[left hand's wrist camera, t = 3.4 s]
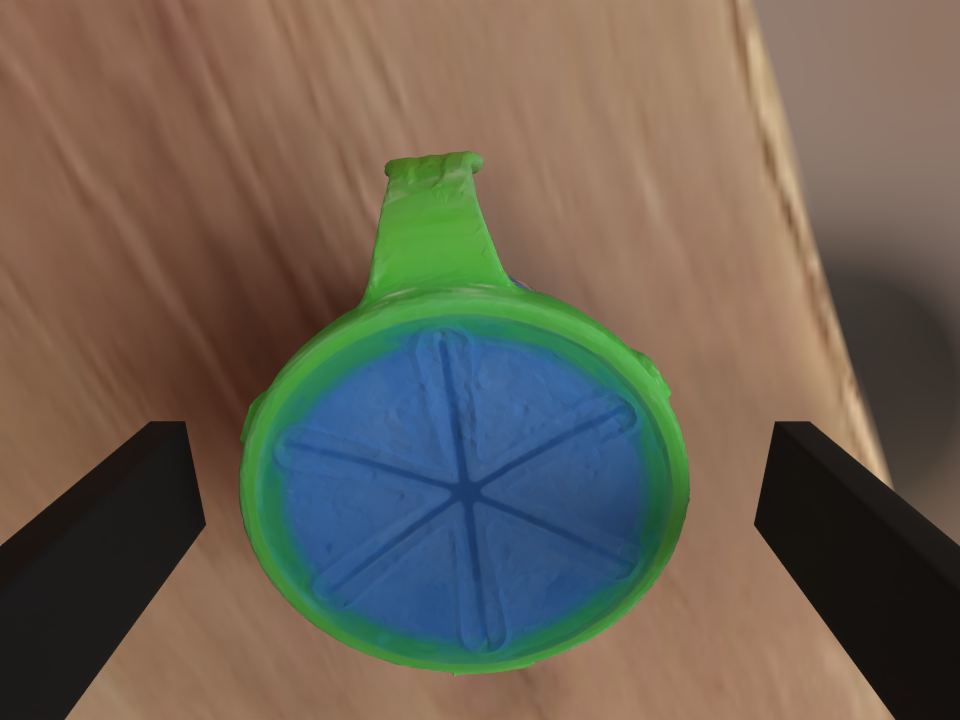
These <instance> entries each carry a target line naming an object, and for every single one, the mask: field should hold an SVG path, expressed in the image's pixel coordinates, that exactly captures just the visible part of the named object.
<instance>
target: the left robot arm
mask: <svg viewBox="0 0 960 720" xmlns="http://www.w3.org/2000/svg"><path fill="white" fill-rule="evenodd" d="M205 526H206V522H205V517H204V512H203V507H202V502H201V497H200V493H199V488H198V483H197V478H196V473H195V468H194V463H193V458H192V454H191V449H190V444H189V439H188V434H187V429H186V424H185V421H150V422H149V423H148V424H147V425H146V426H144V427H143V428H142V429H141V430H140V431H138V432H137V433H136V434H135V435H134V436H132V437H131V438H130V439H129V440H128V441H126V442H125V443H124V444H123V445H122V446H120V447H119V448H118V449H117V450H116V451H114V452H113V453H112V454H111V455H110V456H108V457H107V458H106V459H105V460H103V461H102V462H101V463H100V464H99V465H97V466H96V467H95V468H94V469H93V470H91V471H90V472H89V473H88V474H87V475H85V476H84V477H83V478H82V479H81V480H79V481H78V482H77V483H76V484H75V485H73V486H72V487H71V488H70V489H69V490H67V491H66V492H65V493H64V494H63V495H61V496H60V497H59V498H58V499H57V500H55V501H54V502H53V503H52V504H51V505H49V506H48V507H47V508H46V509H45V510H43V511H42V512H41V513H40V514H38V515H37V516H36V517H35V518H34V519H32V520H31V521H30V522H29V523H28V524H26V525H25V526H24V527H23V528H22V529H20V530H19V531H18V532H17V533H16V534H14V535H13V536H12V537H11V538H10V539H8V540H7V541H6V542H5V543H4V544H2V545H1V546H0V720H65V718H66V717H67V716H68V714H69V713H70V711H71V710H72V709H73V707H74V706H75V705H76V703H77V702H78V700H79V699H80V698H81V696H82V695H83V694H84V692H85V691H86V689H87V688H88V687H89V685H90V684H91V682H92V681H93V680H94V678H95V677H96V676H97V674H98V673H99V671H100V670H101V669H102V667H103V666H104V665H105V663H106V662H107V660H108V659H109V658H110V656H111V655H112V654H113V652H114V651H115V649H116V648H117V647H118V645H119V644H120V643H121V641H122V640H123V638H124V637H125V636H126V634H127V633H128V632H129V630H130V629H131V627H132V626H133V625H134V623H135V622H136V621H137V619H138V618H139V616H140V615H141V614H142V612H143V611H144V610H145V608H146V607H147V605H148V604H149V603H150V601H151V600H152V599H153V597H154V596H155V594H156V593H157V592H158V590H159V589H160V588H161V586H162V585H163V583H164V582H165V581H166V579H167V578H168V577H169V575H170V574H171V572H172V571H173V570H174V568H175V567H176V565H177V564H178V563H179V561H180V560H181V559H182V557H183V556H184V554H185V553H186V552H187V550H188V549H189V548H190V546H191V545H192V543H193V542H194V541H195V539H196V538H197V537H198V535H199V534H200V532H201V531H202V530H203V528H204V527H205ZM754 526H755V527H756V528H757V530H758V531H759V532H760V534H761V535H762V537H763V538H764V539H765V541H766V542H767V543H768V545H769V546H770V548H771V549H772V550H773V552H774V553H775V554H776V556H777V557H778V559H779V560H780V561H781V563H782V564H783V565H784V567H785V568H786V570H787V571H788V572H789V574H790V575H791V577H792V578H793V579H794V581H795V582H796V583H797V585H798V586H799V588H800V589H801V590H802V592H803V593H804V594H805V596H806V597H807V599H808V600H809V601H810V603H811V604H812V605H813V607H814V608H815V610H816V611H817V612H818V614H819V615H820V616H821V618H822V619H823V621H824V622H825V623H826V625H827V626H828V627H829V629H830V630H831V632H832V633H833V634H834V636H835V637H836V638H837V640H838V641H839V643H840V644H841V645H842V647H843V648H844V649H845V651H846V652H847V654H848V655H849V656H850V658H851V659H852V660H853V662H854V663H855V665H856V666H857V667H858V669H859V670H860V671H861V673H862V674H863V676H864V677H865V678H866V680H867V681H868V682H869V684H870V685H871V687H872V688H873V689H874V691H875V692H876V694H877V695H878V696H879V698H880V699H881V700H882V702H883V703H884V705H885V706H886V707H887V709H888V710H889V711H890V713H891V714H892V716H893V717H894V718H895V720H960V546H959V545H958V544H956V543H955V542H954V541H953V540H952V539H950V538H949V537H948V536H947V535H946V534H944V533H943V532H942V531H941V530H940V529H938V528H937V527H936V526H935V525H933V524H932V523H931V522H930V521H929V520H928V519H926V518H925V517H924V516H923V515H922V514H920V513H919V512H918V511H917V510H915V509H914V508H913V507H912V506H911V505H909V504H908V503H907V502H906V501H905V500H903V499H902V498H901V497H900V496H899V495H897V494H896V493H895V492H894V491H893V490H891V489H890V488H889V487H888V486H887V485H885V484H884V483H883V482H882V481H881V480H879V479H878V478H877V477H876V476H875V475H873V474H872V473H871V472H870V471H869V470H867V469H866V468H865V467H864V466H863V465H861V464H860V463H859V462H858V461H857V460H855V459H854V458H853V457H852V456H850V455H849V454H848V453H847V452H846V451H844V450H843V449H842V448H841V447H840V446H838V445H837V444H836V443H835V442H834V441H832V440H831V439H830V438H829V437H828V436H826V435H825V434H824V433H823V432H822V431H820V430H819V429H818V428H817V427H816V426H814V425H813V424H812V423H811V422H810V421H775V424H774V429H773V434H772V439H771V444H770V449H769V454H768V458H767V463H766V468H765V473H764V478H763V483H762V488H761V493H760V497H759V502H758V507H757V512H756V517H755V522H754Z"/></svg>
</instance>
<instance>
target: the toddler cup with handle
mask: <svg viewBox="0 0 960 720" xmlns="http://www.w3.org/2000/svg"><path fill="white" fill-rule="evenodd" d="M482 166H483V159H482V157H481V156H480V155H479V154H477V153H474V152H470V151H466V152H456V153H448V154H444V155H428V156H424V157H420V158H403V159H396V160H390V161H389V162H388V163H387V164H386V165H385V174H386V176H388V177H389V182H388V186H387V191H386V194H385V197H384V201H383V206H382V209H381V215H380V220H379V225H378V230H377V236H376V240H375V245H374V251H373V256H372V262H371V268H370V273H369V279H368V284H367V287H366V290H365V293H364V297H363V298H362V300H361V301H360V303H359V304H358V305H357V307H356V308H354V309H352V310H350V311H348V312H347V313H345V314H343V315H342V316H340V317H339V318H337V319H336V320H334V321H333V322H332V323H330V324H329V325H328V326H326V327H325V328H324V329H323V330H321V331H320V332H319V333H317V334H316V335H315V336H314V337H313V338H312V339H310V340H309V341H308V342H307V343H306V344H304V345H303V346H302V347H301V348H300V349H299V350H298V351H297V352H296V353H295V354H294V355H293V357H292V358H291V359H290V360H289V361H288V362H287V363H286V364H285V365H284V367H283V368H282V369H281V370H280V371H279V372H278V374H277V376H276V378H275V379H274V381H273V382H272V384H271V386H270V387H269V388H268V390H266V391H264V392H262V393H261V394H260V395H259V396H258V397H257V398H256V399H255V400H254V401H253V403H252V404H251V405H250V406H249V410H248V414H247V417H246V419H245V422H244V426H243V429H242V434H241V436H240V441H241V442H242V443H243V452H242V457H241V463H240V468H239V501H240V509H241V514H242V517H243V523H244V528H245V531H246V533H247V536H248V538H249V541H250V543H251V546H252V548H253V551H254V553H255V555H256V557H257V559H258V561H259V563H260V565H261V567H262V568H263V570H264V572H265V573H266V574H267V576H268V577H269V579H270V580H271V581H272V583H273V584H274V586H275V587H276V588H277V589H278V591H279V592H280V593H281V594H282V595H283V597H284V598H285V599H286V600H287V601H288V602H289V603H290V604H291V605H292V606H293V607H294V608H295V609H296V610H297V611H298V612H299V613H300V614H301V615H303V616H304V617H305V618H306V619H307V620H308V621H310V622H311V623H312V624H314V625H315V626H317V627H318V628H320V629H321V630H323V631H324V632H326V633H327V634H329V635H330V636H332V637H333V638H335V639H337V640H339V641H341V642H342V643H344V644H346V645H347V646H349V647H351V648H354V649H356V650H358V651H361V652H363V653H366V654H368V655H371V656H374V657H376V658H379V659H382V660H385V661H388V662H391V663H394V664H397V665H403V666H408V667H413V668H418V669H426V670H431V671H443V672H451V673H453V676H455V675H458V674H480V673H492V672H502V671H509V670H514V669H521V668H527V667H529V666H532V665H533V664H534V662H537V661H540V660H543V659H546V658H550V657H552V656H555V655H558V654H561V653H564V652H566V651H569V650H571V649H572V648H574V647H576V646H578V645H580V644H582V643H584V642H586V641H588V640H590V639H592V638H593V637H595V636H597V635H598V634H600V633H601V632H603V631H605V630H606V629H608V628H609V627H610V626H612V625H613V624H615V623H616V622H617V621H618V620H619V619H621V618H622V617H623V616H624V615H626V614H627V613H628V612H629V611H630V610H631V609H632V608H633V607H634V606H635V605H636V604H637V603H638V602H639V601H640V600H641V598H642V597H643V596H644V595H645V594H646V592H647V591H648V590H649V589H650V588H651V587H652V586H653V584H654V583H655V581H656V580H657V578H658V577H659V576H660V574H661V572H662V570H663V569H664V567H665V566H666V565H667V563H668V561H669V559H670V557H671V556H672V554H673V552H674V549H675V546H676V544H677V542H678V540H679V536H680V533H681V530H682V526H683V523H684V520H685V517H686V511H687V507H688V502H689V500H690V499H689V491H690V485H689V467H688V458H687V454H686V449H685V444H684V440H683V437H682V433H681V430H680V427H679V424H678V422H677V419H676V416H675V414H674V412H673V410H672V408H671V406H670V404H669V396H670V394H671V391H670V388H669V386H668V385H667V383H666V382H665V380H664V378H663V377H662V375H661V374H660V372H659V371H658V369H657V367H656V366H655V364H654V363H653V362H652V360H651V359H650V358H649V357H647V356H646V355H645V354H643V353H641V352H638V351H636V350H633V349H631V348H629V347H628V346H627V345H626V344H624V343H623V342H622V341H621V340H620V339H619V338H618V337H617V336H616V335H614V334H613V333H612V332H611V331H609V330H608V329H607V328H606V327H604V326H603V325H602V324H600V323H598V322H597V321H595V320H594V319H592V318H591V317H589V316H587V315H586V314H584V313H582V312H581V311H579V310H578V309H576V308H575V307H573V306H571V305H569V304H567V303H565V302H562V301H560V300H558V299H556V298H554V297H551V296H549V295H545V294H542V293H539V292H537V291H535V290H534V289H533V288H531V287H530V286H528V285H526V284H525V283H523V282H521V281H519V280H516V279H514V278H513V277H510V276H508V275H507V274H506V273H505V271H504V270H503V268H502V266H501V263H500V260H499V258H498V255H497V252H496V250H495V247H494V244H493V242H492V239H491V237H490V234H489V232H488V229H487V227H486V224H485V221H484V218H483V215H482V212H481V209H480V206H479V204H478V201H477V197H476V191H475V186H474V180H473V177H472V174H474V173H477V172H478V171H479V170H481V169H482Z"/></svg>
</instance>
